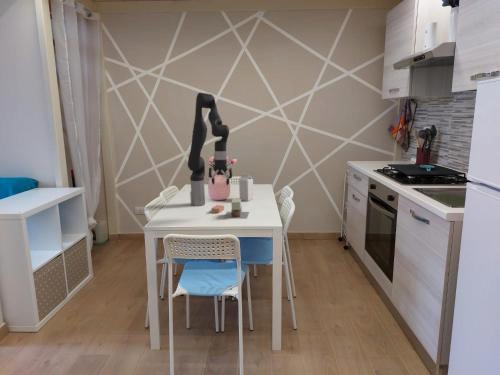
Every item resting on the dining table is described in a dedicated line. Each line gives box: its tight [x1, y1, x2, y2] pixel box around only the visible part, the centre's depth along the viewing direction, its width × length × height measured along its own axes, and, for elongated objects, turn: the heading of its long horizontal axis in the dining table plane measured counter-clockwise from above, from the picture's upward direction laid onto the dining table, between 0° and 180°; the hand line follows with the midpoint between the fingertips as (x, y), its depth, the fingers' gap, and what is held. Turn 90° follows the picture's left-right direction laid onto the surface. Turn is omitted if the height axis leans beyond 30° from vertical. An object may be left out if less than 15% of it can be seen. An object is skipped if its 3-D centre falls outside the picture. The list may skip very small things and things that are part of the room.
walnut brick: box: [230, 207, 243, 217], centre depth 219 cm, size 5×8×4 cm, turn 174°
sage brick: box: [230, 198, 242, 210], centre depth 218 cm, size 5×8×4 cm, turn 176°
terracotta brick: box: [211, 204, 225, 214], centre depth 229 cm, size 5×8×4 cm, turn 161°
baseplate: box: [223, 211, 250, 220], centre depth 220 cm, size 14×14×2 cm
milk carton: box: [238, 173, 254, 202], centre depth 261 cm, size 7×7×19 cm
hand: (220, 184), depth 223 cm, fingers open, 8 cm apart
